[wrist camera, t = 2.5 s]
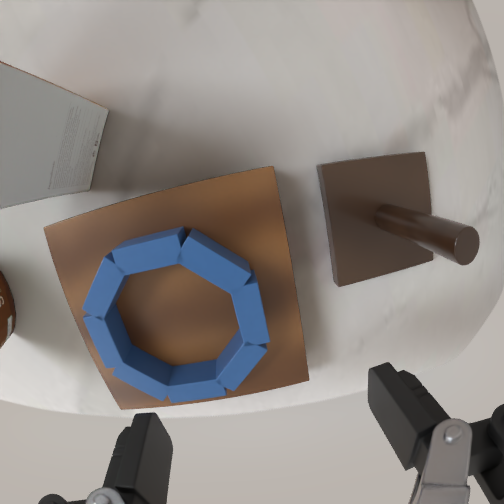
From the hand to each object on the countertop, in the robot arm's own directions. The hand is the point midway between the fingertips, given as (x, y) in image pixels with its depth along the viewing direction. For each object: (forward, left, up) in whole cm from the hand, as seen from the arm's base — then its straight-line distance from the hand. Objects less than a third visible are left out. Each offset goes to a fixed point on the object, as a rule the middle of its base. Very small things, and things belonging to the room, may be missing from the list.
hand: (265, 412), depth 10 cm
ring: (0, -5, -10) cm, 11 cm away
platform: (0, -5, -13) cm, 14 cm away
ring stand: (-3, +11, -13) cm, 18 cm away
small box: (-14, -12, -13) cm, 23 cm away
